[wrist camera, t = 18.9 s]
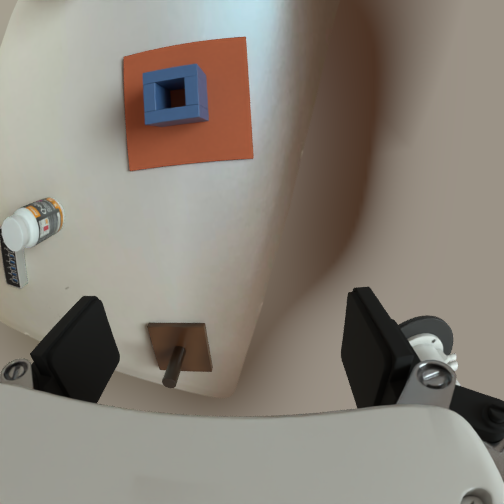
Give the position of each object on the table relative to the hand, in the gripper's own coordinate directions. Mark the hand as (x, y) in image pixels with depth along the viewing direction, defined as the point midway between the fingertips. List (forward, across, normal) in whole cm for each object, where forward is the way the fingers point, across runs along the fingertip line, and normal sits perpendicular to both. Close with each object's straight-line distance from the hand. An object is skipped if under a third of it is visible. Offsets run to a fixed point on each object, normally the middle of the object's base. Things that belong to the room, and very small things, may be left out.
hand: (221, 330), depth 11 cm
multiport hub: (+28, +42, +6) cm, 51 cm away
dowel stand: (+28, +12, +23) cm, 38 cm away
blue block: (+28, +7, -12) cm, 31 cm away
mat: (+28, +7, -12) cm, 32 cm away
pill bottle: (+28, +30, 0) cm, 41 cm away
